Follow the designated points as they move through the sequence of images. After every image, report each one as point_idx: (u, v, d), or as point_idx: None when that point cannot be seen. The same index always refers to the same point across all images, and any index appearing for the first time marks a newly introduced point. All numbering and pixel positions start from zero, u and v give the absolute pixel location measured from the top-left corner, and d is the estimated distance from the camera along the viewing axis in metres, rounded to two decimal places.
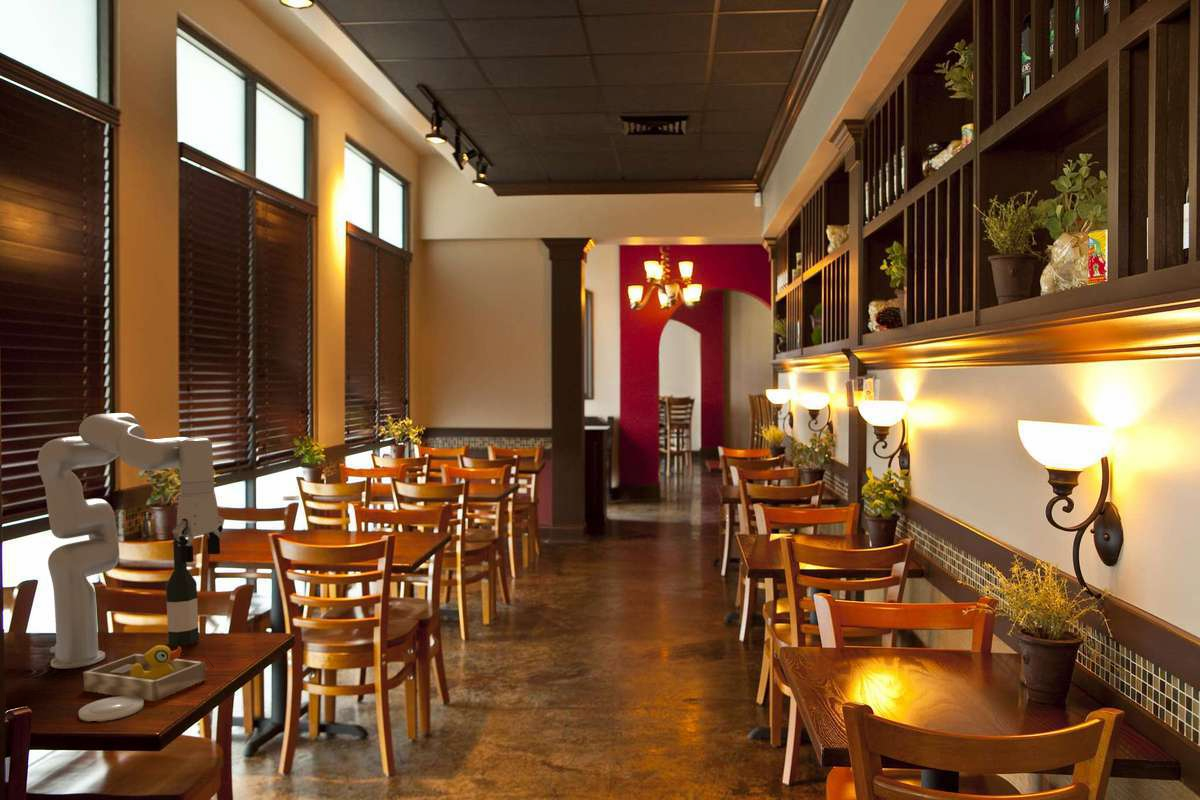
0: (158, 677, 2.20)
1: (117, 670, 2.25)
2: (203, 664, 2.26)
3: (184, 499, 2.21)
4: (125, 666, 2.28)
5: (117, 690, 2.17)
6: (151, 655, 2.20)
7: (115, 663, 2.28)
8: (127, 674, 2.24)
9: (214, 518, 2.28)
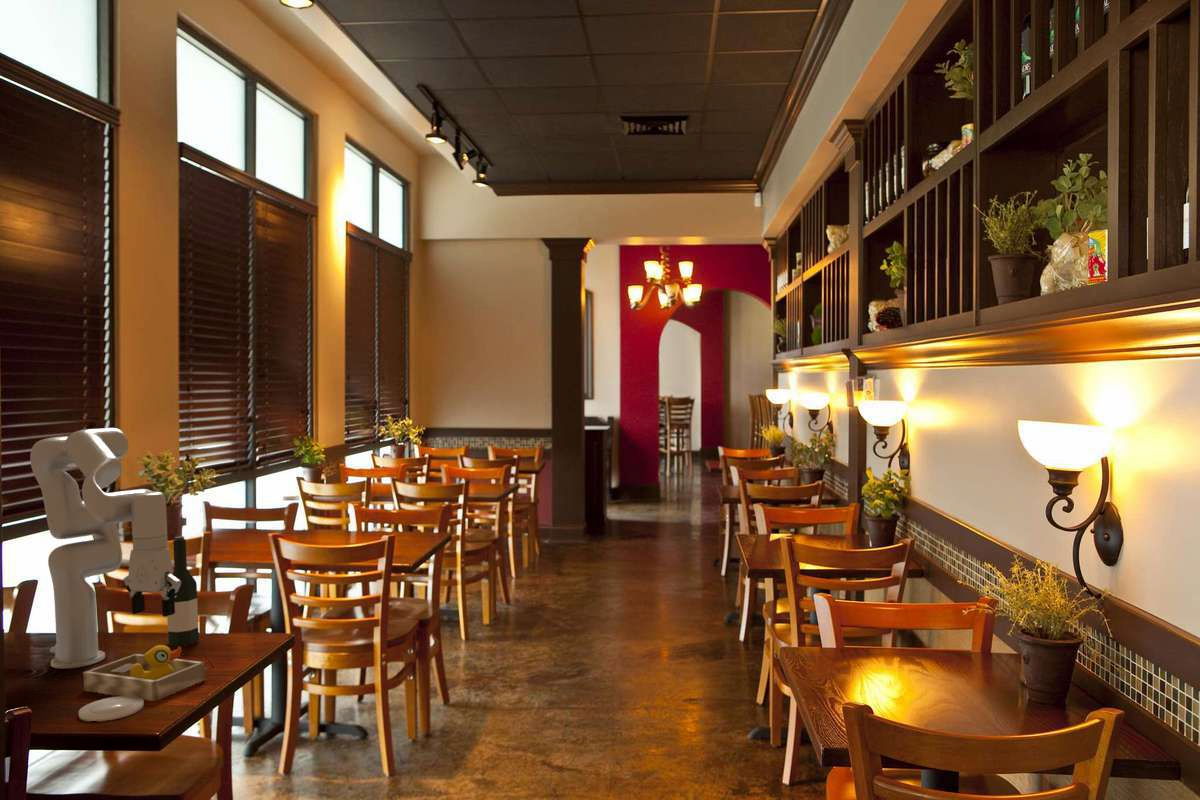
0: (158, 677, 2.20)
1: (118, 669, 2.25)
2: (203, 664, 2.26)
3: (163, 552, 2.19)
4: (125, 665, 2.28)
5: (117, 690, 2.17)
6: (151, 655, 2.20)
7: (115, 663, 2.28)
8: (127, 673, 2.24)
9: None
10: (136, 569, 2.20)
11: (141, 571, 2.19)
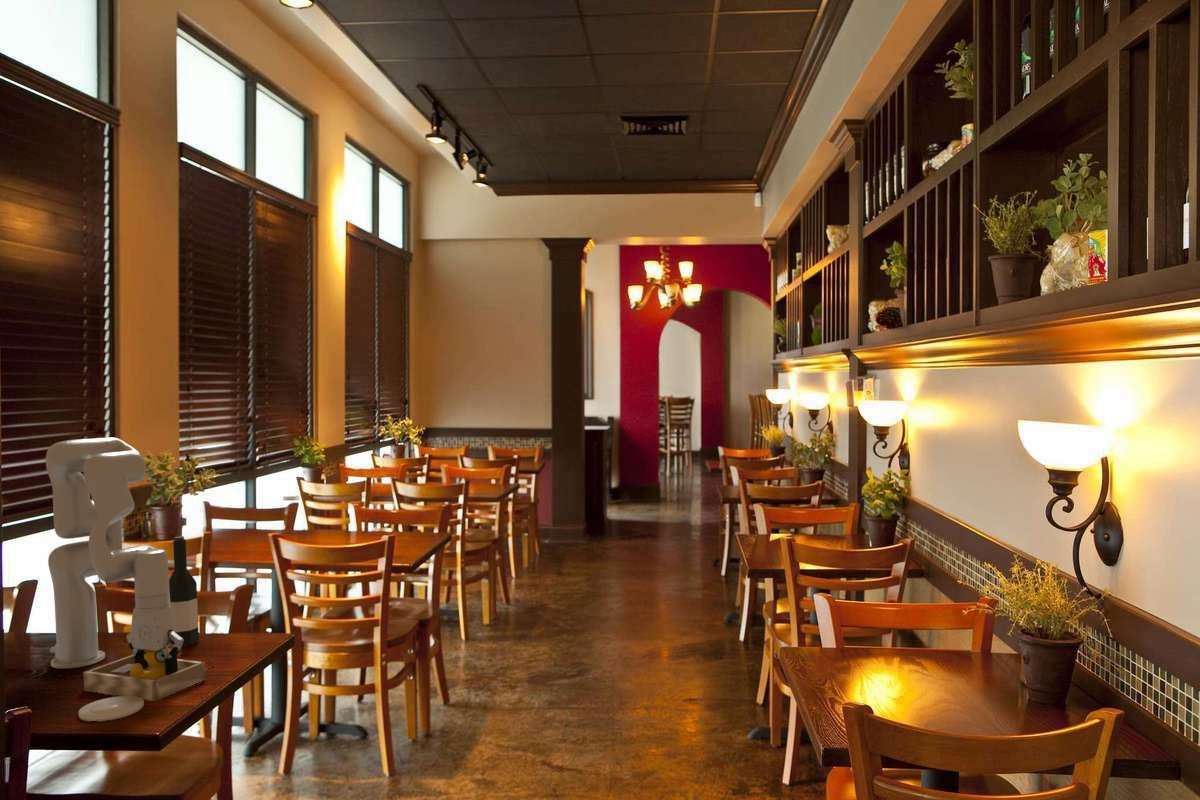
0: (158, 677, 2.20)
1: (118, 670, 2.25)
2: (203, 664, 2.26)
3: (166, 610, 2.20)
4: (126, 666, 2.28)
5: (117, 690, 2.17)
6: (151, 655, 2.20)
7: (115, 663, 2.28)
8: (128, 674, 2.24)
9: None
10: (139, 627, 2.20)
11: (144, 629, 2.19)
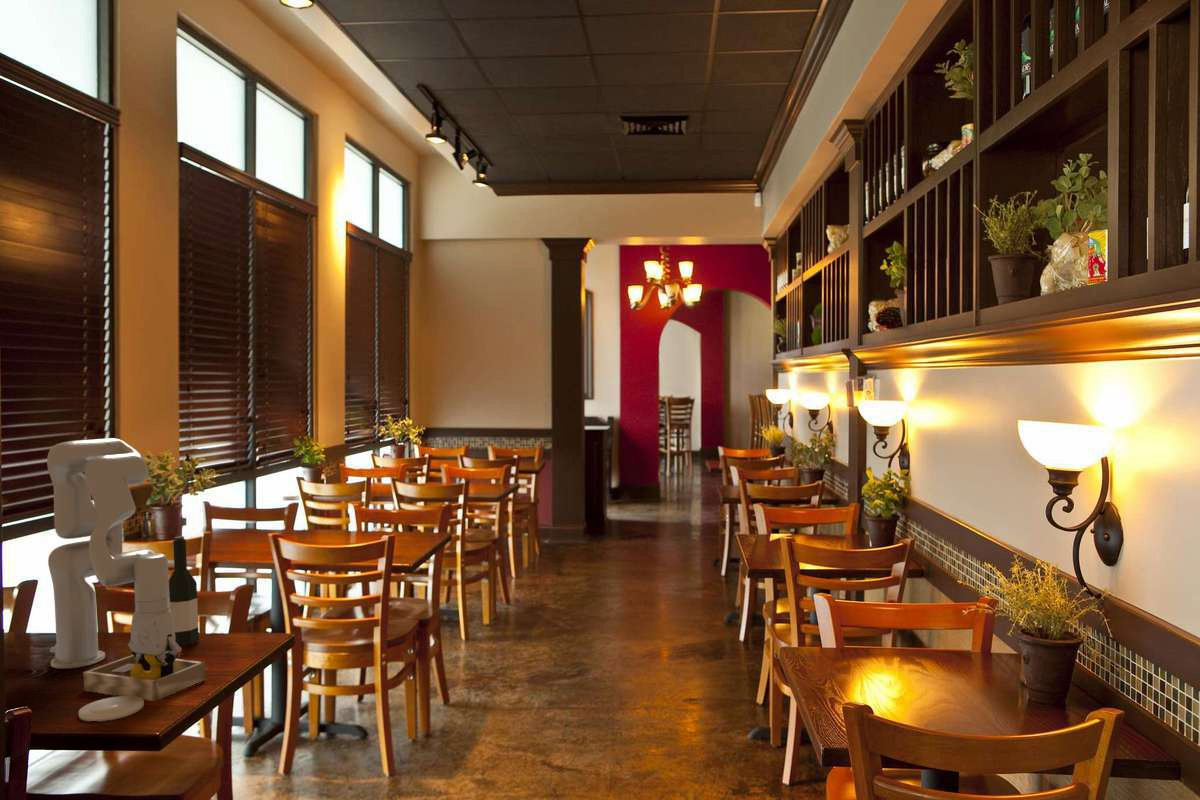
0: (158, 677, 2.20)
1: (118, 669, 2.25)
2: (203, 664, 2.26)
3: (166, 615, 2.20)
4: (126, 665, 2.28)
5: (117, 690, 2.17)
6: (151, 655, 2.20)
7: (115, 663, 2.28)
8: (128, 673, 2.24)
9: None
10: (138, 632, 2.20)
11: (143, 634, 2.20)
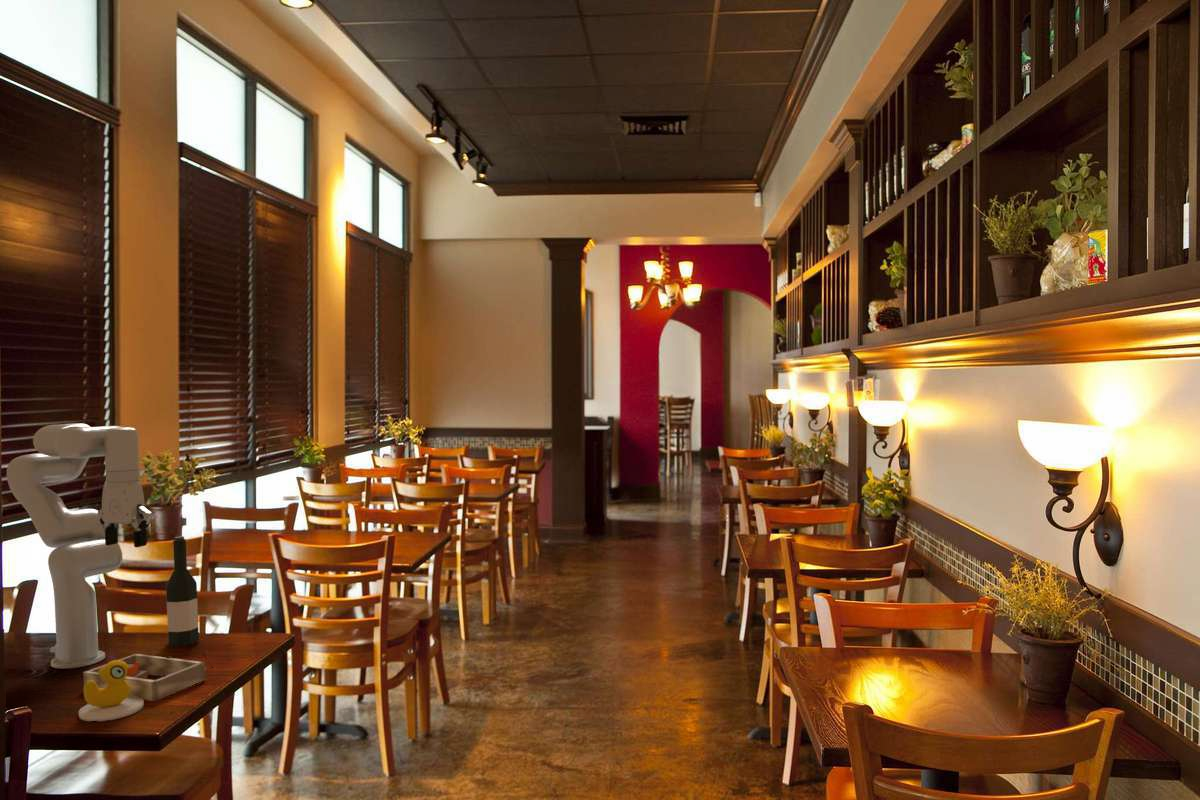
0: (114, 694, 2.05)
1: None
2: (203, 664, 2.26)
3: (135, 485, 2.27)
4: None
5: None
6: (106, 671, 2.05)
7: None
8: None
9: None
10: (109, 501, 2.27)
11: (114, 503, 2.26)
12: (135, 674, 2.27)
